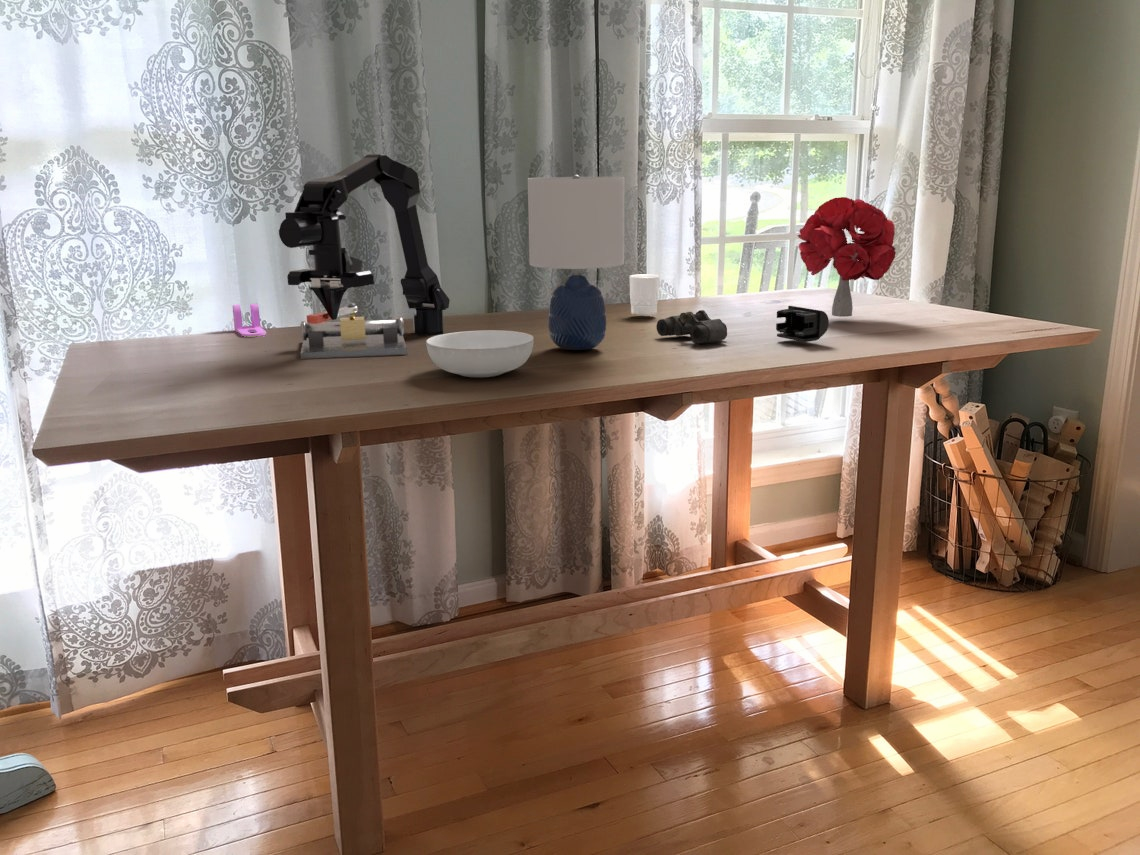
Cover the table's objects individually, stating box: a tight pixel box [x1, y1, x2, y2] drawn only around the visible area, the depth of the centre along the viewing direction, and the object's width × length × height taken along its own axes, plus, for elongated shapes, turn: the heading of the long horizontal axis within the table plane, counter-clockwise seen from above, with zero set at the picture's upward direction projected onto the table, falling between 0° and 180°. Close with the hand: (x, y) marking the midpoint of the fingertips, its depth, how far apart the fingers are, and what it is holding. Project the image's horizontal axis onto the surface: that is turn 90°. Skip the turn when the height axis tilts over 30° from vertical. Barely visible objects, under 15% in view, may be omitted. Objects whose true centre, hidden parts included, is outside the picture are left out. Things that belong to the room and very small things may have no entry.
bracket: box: [232, 303, 267, 336], centre depth 232 cm, size 13×6×7 cm, turn 27°
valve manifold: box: [300, 312, 408, 360], centre depth 213 cm, size 22×20×8 cm
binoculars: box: [656, 309, 728, 344], centre depth 224 cm, size 11×16×6 cm
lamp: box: [527, 174, 625, 351], centre depth 208 cm, size 20×20×37 cm
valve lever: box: [306, 302, 359, 324], centre depth 206 cm, size 16×3×2 cm, turn 160°
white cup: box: [629, 273, 660, 316], centre depth 257 cm, size 8×8×10 cm
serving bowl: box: [425, 329, 535, 378], centre depth 188 cm, size 21×21×7 cm
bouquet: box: [797, 196, 897, 318], centre depth 248 cm, size 22×24×30 cm
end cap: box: [775, 305, 830, 343], centre depth 221 cm, size 10×7×7 cm
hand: (334, 319), depth 202 cm, fingers closed
